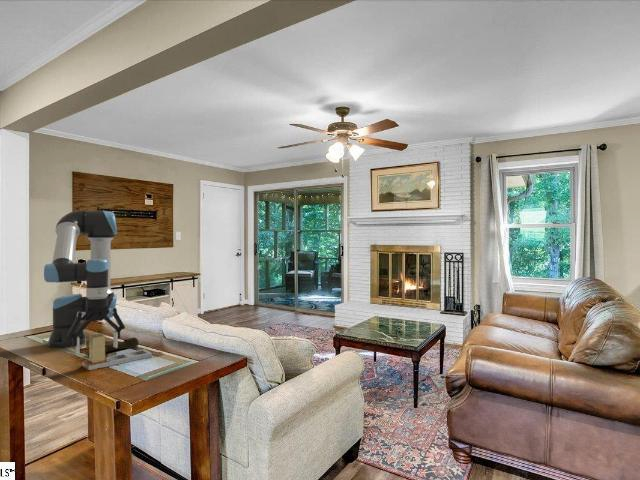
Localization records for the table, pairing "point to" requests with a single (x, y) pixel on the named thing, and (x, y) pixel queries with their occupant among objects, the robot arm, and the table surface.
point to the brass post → (96, 349)
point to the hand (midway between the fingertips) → (97, 350)
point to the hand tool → (123, 345)
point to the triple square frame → (118, 359)
